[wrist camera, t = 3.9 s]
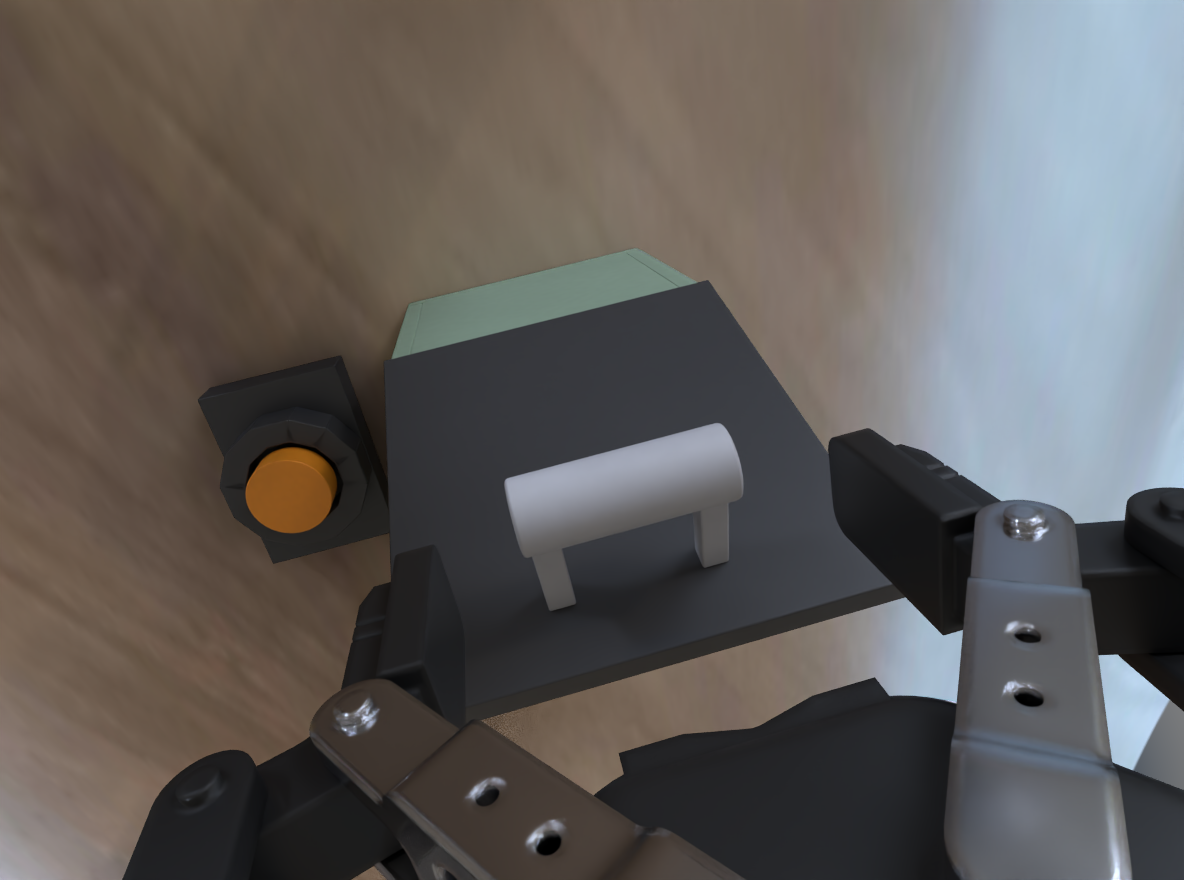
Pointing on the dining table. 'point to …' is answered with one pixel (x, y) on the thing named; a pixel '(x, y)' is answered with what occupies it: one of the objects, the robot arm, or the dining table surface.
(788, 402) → the lid
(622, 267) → the sage green box
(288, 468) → the button
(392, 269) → the dining table surface
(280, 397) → the block
